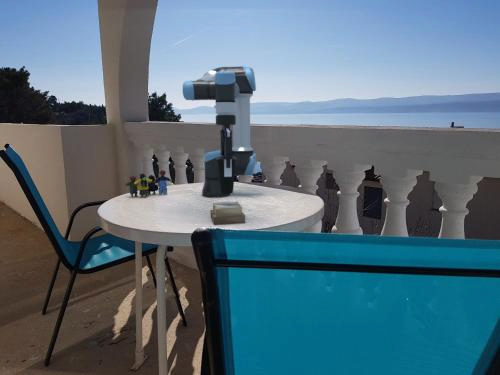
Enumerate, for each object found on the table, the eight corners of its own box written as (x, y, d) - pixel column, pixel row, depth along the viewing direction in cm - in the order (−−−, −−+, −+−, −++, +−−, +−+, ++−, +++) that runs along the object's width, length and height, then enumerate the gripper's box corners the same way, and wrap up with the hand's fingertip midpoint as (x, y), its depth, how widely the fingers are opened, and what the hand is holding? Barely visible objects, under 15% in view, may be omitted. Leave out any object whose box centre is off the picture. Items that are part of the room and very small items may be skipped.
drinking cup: (216, 191, 147) (215, 140, 144) (236, 190, 148) (235, 140, 145) (216, 194, 140) (215, 141, 136) (237, 194, 141) (236, 141, 137)
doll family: (165, 192, 204) (164, 168, 202) (174, 194, 198) (173, 169, 195) (125, 198, 189) (123, 172, 187) (133, 200, 183) (131, 174, 180)
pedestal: (210, 217, 151) (210, 201, 150) (239, 215, 153) (239, 200, 152) (213, 225, 139) (213, 208, 138) (245, 223, 142) (245, 207, 140)
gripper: (212, 114, 148) (213, 172, 152) (219, 113, 129) (220, 179, 133) (231, 114, 149) (232, 171, 153) (240, 113, 130) (240, 178, 134)
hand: (226, 175), depth 143 cm, fingers closed on drinking cup, 7 cm apart
